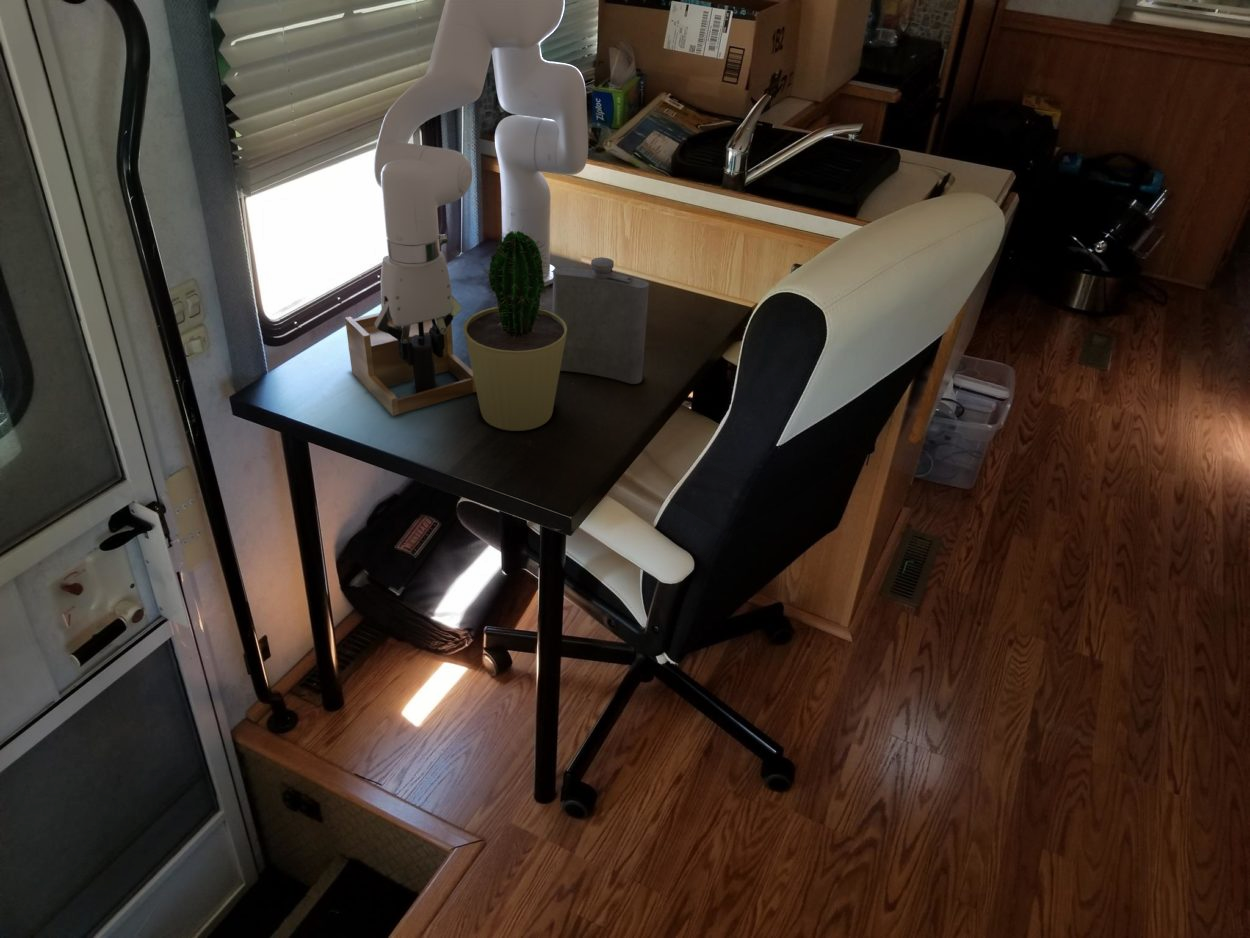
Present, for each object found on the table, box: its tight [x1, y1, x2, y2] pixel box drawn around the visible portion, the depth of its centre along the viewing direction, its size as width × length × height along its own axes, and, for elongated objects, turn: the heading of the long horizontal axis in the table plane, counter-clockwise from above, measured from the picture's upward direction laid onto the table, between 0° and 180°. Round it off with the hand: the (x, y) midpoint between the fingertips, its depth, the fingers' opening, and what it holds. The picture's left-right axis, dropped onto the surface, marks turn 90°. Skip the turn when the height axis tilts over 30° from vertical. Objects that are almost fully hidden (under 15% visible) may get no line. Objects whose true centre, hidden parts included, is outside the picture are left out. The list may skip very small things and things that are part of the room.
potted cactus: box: [462, 227, 567, 432], centre depth 139 cm, size 15×15×30 cm
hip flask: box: [552, 256, 650, 385], centre depth 154 cm, size 16×4×20 cm, turn 75°
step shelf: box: [344, 312, 477, 417], centre depth 151 cm, size 16×15×10 cm
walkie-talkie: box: [412, 322, 437, 394], centre depth 147 cm, size 5×3×15 cm
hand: (422, 356), depth 147 cm, fingers closed on walkie-talkie, 4 cm apart
